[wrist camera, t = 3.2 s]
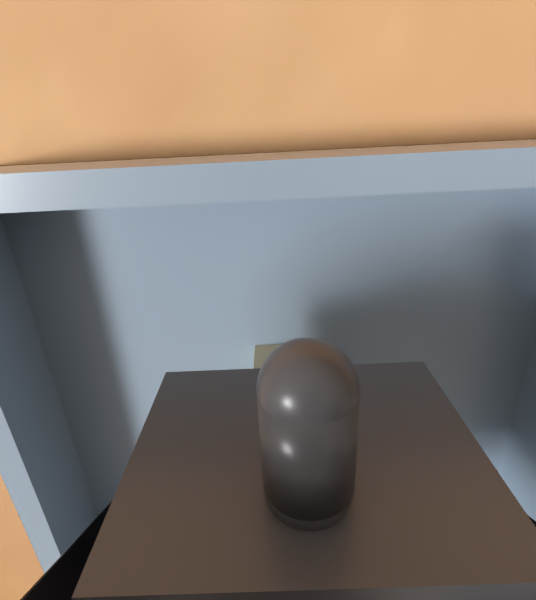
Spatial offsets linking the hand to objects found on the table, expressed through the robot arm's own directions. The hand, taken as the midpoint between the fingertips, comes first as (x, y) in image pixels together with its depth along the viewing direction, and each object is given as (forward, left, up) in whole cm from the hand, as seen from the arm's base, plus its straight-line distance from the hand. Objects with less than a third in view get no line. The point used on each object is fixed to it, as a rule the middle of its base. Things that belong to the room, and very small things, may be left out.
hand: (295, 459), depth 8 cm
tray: (0, 0, -3) cm, 3 cm away
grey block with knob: (0, 0, -2) cm, 2 cm away
